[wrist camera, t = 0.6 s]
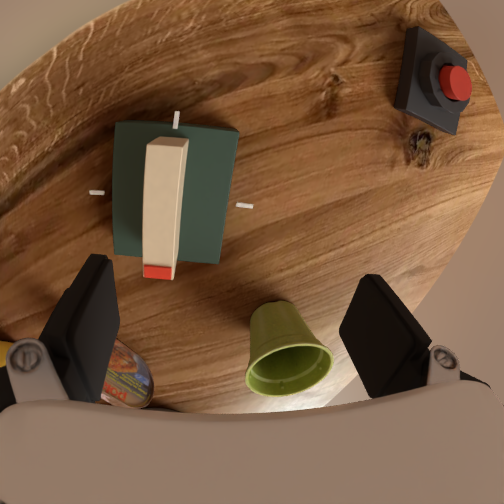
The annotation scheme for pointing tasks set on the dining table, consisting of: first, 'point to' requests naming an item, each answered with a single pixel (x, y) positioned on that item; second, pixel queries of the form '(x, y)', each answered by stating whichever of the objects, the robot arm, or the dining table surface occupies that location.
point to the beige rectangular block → (162, 205)
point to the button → (455, 82)
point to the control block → (428, 81)
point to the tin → (127, 379)
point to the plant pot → (284, 352)
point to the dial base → (194, 190)
